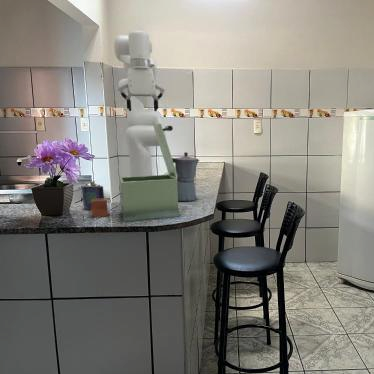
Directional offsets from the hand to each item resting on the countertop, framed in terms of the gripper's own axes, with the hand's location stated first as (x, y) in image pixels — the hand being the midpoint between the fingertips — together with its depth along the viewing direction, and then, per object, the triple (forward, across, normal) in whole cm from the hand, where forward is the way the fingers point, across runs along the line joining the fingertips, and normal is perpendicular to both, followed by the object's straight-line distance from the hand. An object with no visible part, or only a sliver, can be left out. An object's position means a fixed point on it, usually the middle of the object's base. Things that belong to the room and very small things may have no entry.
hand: (142, 110), depth 142 cm
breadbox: (+37, +2, +22) cm, 43 cm away
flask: (+37, +20, +4) cm, 42 cm away
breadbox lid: (+15, -4, +22) cm, 27 cm away
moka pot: (+37, -15, 0) cm, 40 cm away
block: (+37, +18, +16) cm, 44 cm away
